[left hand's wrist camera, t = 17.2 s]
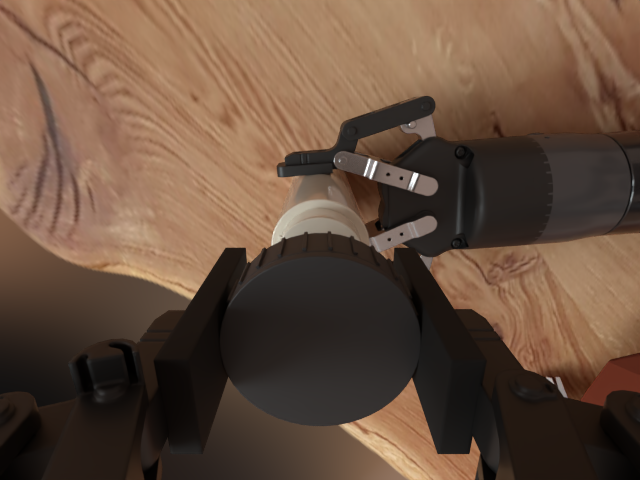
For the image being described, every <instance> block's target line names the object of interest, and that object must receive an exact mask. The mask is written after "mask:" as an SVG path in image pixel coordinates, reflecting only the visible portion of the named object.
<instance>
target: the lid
mask: <svg viewBox="0 0 640 480" xmlns="http://www.w3.org/2000/svg"><path fill="white" fill-rule="evenodd" d="M411 298H412V296H411V294H410V292H409V290H408V287H407V285H406V283H405V281H404V279H403V277H402V275H400V276H399V275H398V273H397V272H396V270H395V269H394V266H393V264H392V262H391V260H390V259H389V258H388V259H386V258H385V257H384V256H383V255H381V254H380V253H379V252H377V251H376V250H375V247H374V246H373V245H371V246H368V245H366V244H365V243H363V242H361V241H358V240H356V239H354V236H350V237H347V236H343V235H338V234H331V231H328V233H310V234H308V232H304V234H302V235H298V236H294V237H290V238H288V239H286V238H285V237H284V238H282V240H281V241H280V242H278V243H276V244H274V245H272V246H271V247H269V248H267V249H266V248H263V249H262V251H261V254H259V255H258V256H257V257H256V258H255V259H254V260H253V261H252V262H251V263H250V262H248V263H247V264H246V267H245V269H244V271H243V273H242V276H241V278H240V280H239V279H237V280H236V282H235V285H234V287H233V289H232V291H231V293H230V295H229V297H228V300H227V303H229V304H228V307H227V309H226V311H225V314H224V317H223V319H222V323H221V328H220V336H219V343H220V352H221V358H222V362H223V365H224V368H225V370H226V372H227V375H228V377H229V378H230V380H231V381H232V383H233V385H234V386H235V387H236V388H237V390H238V391H239V392H240V393H241V394H242V395H243V396H244V397H245V398H246V399H247V400H248V401H249V402H251V403H252V404H253V405H254V406H256V407H257V408H259V409H261V410H262V411H264V412H266V413H267V414H269V415H272V416H274V417H276V418H278V419H281V420H285V421H288V422H291V423H296V424H301V425H309V426H331V425H340V424H345V423H350V422H353V421H356V420H359V419H362V418H364V417H367V416H369V415H371V414H373V413H375V412H377V411H379V410H380V409H382V408H383V407H385V406H386V405H388V404H389V403H390V402H392V401H393V400H394V399H395V398H396V397H397V396H398V395H399V394H400V393H401V392H402V390H403V389H404V388H405V387H406V386H407V384H408V383H409V381H410V379H411V378H412V376H413V374H414V372H415V369H416V367H417V364H418V361H419V354H420V346H421V329H420V324H419V320H418V317H419V315H418V313H417V311H416V308H415V306H414V304H413V302H412V300H411Z"/></svg>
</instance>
